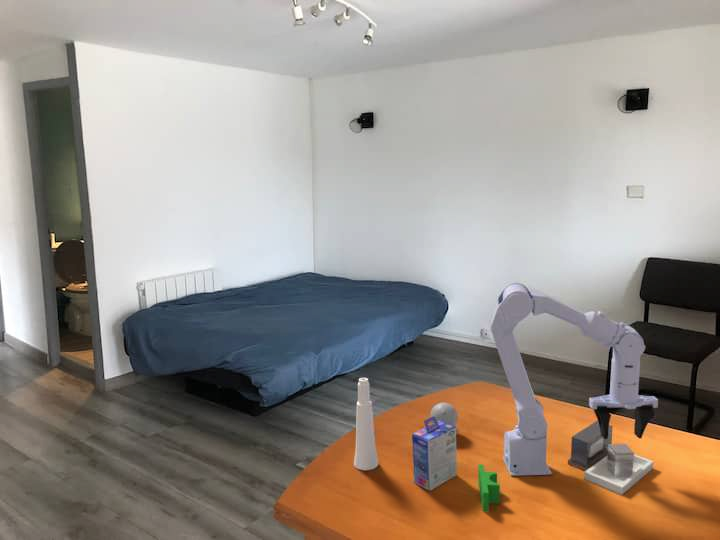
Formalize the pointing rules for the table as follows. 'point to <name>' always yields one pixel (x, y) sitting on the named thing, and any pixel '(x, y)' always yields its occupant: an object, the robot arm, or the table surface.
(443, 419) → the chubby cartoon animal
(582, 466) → the mounted housing
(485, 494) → the pipe clamp
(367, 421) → the cosmetic bottle
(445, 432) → the ink cartridge box
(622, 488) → the tray
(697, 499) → the table surface
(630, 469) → the block
